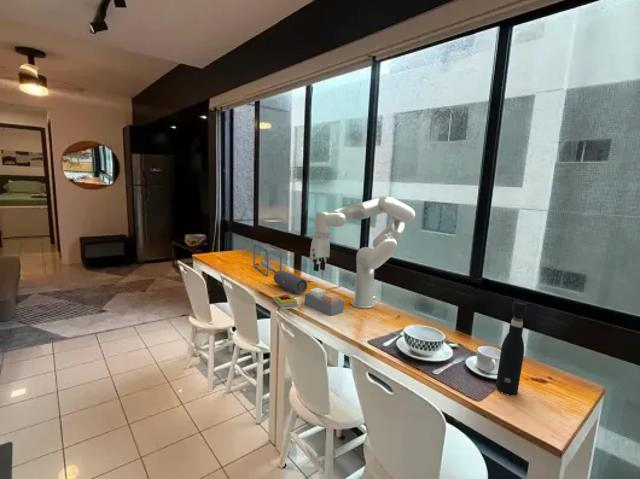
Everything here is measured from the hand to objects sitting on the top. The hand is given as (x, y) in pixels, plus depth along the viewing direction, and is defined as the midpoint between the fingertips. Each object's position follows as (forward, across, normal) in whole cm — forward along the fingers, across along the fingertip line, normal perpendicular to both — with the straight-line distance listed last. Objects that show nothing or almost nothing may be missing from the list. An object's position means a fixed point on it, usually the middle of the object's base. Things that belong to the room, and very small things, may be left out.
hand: (319, 270), depth 179 cm
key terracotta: (+16, 0, +10) cm, 19 cm away
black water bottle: (+19, +3, +94) cm, 96 cm away
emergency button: (+20, +12, -12) cm, 26 cm away
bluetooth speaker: (+19, -5, -29) cm, 35 cm away
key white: (+16, 0, 0) cm, 16 cm away
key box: (+19, 0, +5) cm, 20 cm away
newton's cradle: (+20, -20, -73) cm, 78 cm away
